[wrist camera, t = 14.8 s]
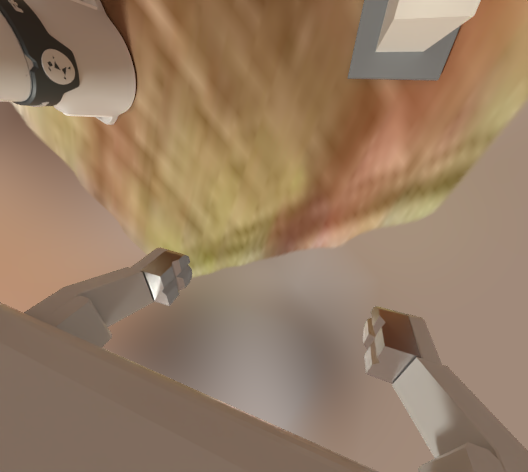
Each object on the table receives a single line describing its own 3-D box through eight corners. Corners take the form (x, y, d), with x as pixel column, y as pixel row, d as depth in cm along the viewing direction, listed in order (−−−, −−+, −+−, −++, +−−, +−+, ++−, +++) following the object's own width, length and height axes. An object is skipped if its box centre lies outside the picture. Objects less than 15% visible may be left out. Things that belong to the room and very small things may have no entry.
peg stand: (347, 78, 27) (349, 69, 20) (373, -43, 21) (386, -107, 15) (435, 80, 24) (468, 70, 18) (491, -56, 19) (564, -139, 12)
